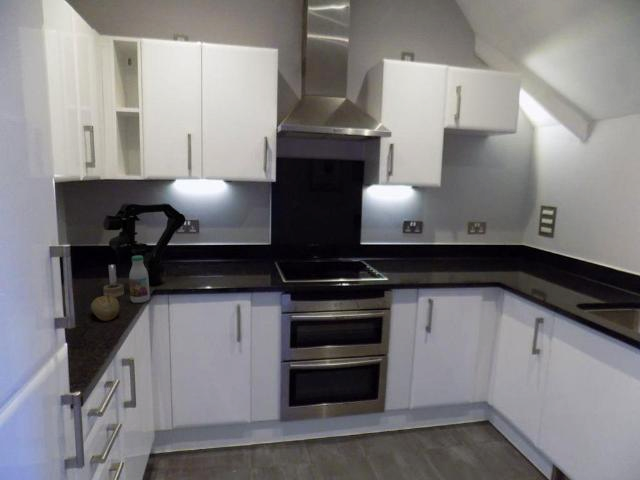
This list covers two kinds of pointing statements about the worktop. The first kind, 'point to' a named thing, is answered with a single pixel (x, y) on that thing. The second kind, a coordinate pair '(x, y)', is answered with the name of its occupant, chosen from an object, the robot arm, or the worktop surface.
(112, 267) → the steel peg
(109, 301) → the bread roll
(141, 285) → the milk bottle
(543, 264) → the worktop surface
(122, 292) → the tan tape roll
